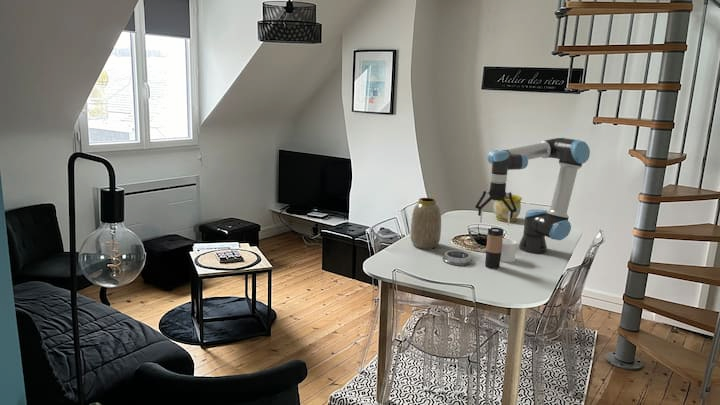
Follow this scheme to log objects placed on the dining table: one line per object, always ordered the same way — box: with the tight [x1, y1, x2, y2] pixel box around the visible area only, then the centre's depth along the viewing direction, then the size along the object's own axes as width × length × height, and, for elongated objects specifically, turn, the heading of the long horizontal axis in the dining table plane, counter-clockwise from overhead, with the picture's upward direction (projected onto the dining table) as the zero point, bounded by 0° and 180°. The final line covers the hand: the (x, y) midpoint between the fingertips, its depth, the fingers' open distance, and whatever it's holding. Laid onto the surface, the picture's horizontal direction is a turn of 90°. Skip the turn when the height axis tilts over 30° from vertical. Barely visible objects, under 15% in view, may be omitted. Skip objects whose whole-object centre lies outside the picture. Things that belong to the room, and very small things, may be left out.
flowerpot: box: [493, 194, 522, 223], centre depth 362 cm, size 18×18×16 cm
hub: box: [442, 249, 473, 267], centre depth 277 cm, size 15×15×4 cm
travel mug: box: [484, 226, 504, 270], centre depth 268 cm, size 8×8×20 cm
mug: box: [500, 238, 517, 264], centre depth 281 cm, size 13×10×10 cm
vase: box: [410, 197, 442, 250], centre depth 299 cm, size 17×17×27 cm
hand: (494, 223), depth 266 cm, fingers open, 13 cm apart
